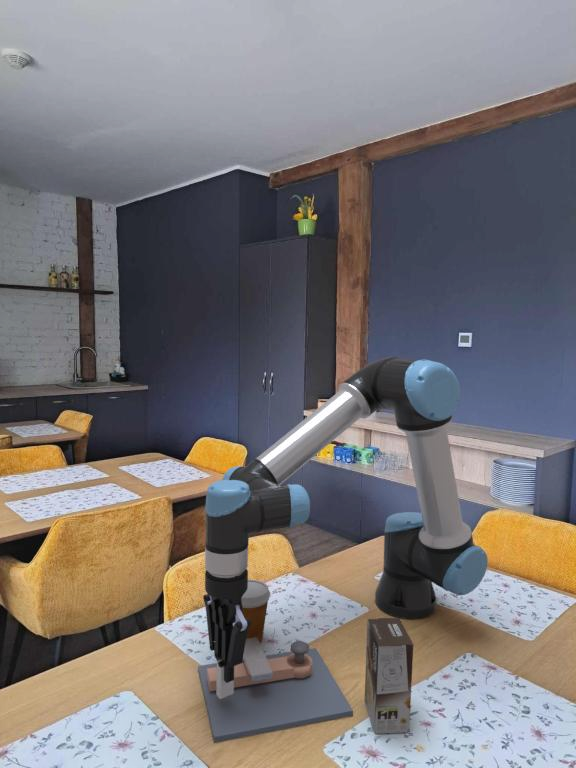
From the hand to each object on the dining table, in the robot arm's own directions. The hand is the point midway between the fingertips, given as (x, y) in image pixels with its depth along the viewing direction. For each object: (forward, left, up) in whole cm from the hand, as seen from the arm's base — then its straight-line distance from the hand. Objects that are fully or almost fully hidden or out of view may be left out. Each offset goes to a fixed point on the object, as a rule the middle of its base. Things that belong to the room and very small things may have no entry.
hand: (224, 694), depth 100 cm
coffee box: (-28, +9, -3) cm, 29 cm away
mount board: (-9, -2, -3) cm, 10 cm away
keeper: (-7, -5, -3) cm, 9 cm away
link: (-8, -5, -1) cm, 10 cm away
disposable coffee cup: (-9, -20, -3) cm, 22 cm away
